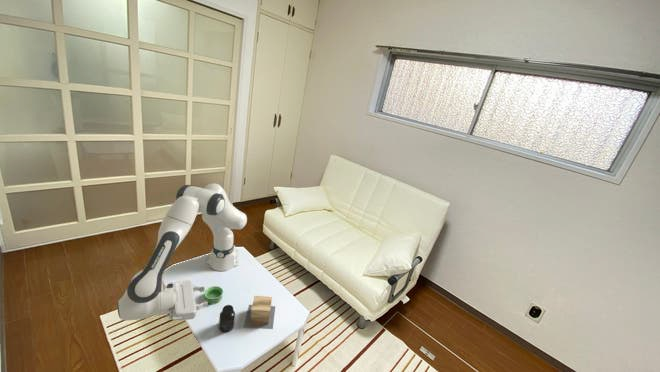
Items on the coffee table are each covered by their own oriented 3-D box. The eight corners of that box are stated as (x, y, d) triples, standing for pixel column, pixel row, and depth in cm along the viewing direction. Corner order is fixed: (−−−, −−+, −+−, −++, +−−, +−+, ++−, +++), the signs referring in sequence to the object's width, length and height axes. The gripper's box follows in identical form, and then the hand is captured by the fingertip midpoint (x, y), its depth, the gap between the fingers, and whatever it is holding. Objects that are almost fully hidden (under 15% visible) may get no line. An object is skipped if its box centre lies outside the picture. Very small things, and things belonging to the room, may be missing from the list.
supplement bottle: (219, 334, 124) (220, 316, 119) (218, 322, 129) (219, 304, 125) (234, 331, 126) (236, 313, 122) (233, 319, 132) (234, 301, 128)
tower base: (253, 308, 140) (253, 302, 138) (270, 309, 141) (271, 303, 140) (249, 323, 132) (250, 316, 130) (268, 324, 133) (269, 317, 131)
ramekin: (203, 294, 143) (203, 288, 142) (221, 290, 148) (221, 284, 146) (205, 307, 136) (205, 300, 134) (223, 302, 141) (224, 296, 139)
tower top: (253, 302, 138) (254, 295, 137) (271, 303, 140) (272, 296, 138) (250, 316, 130) (251, 309, 128) (269, 317, 131) (270, 311, 130)
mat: (249, 305, 142) (249, 304, 142) (275, 306, 144) (275, 306, 144) (243, 328, 129) (243, 327, 129) (272, 329, 131) (272, 328, 131)
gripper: (170, 314, 98) (210, 306, 106) (168, 279, 114) (203, 275, 122) (168, 328, 100) (208, 319, 107) (167, 292, 116) (202, 286, 124)
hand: (205, 295), depth 115 cm, fingers open, 8 cm apart
